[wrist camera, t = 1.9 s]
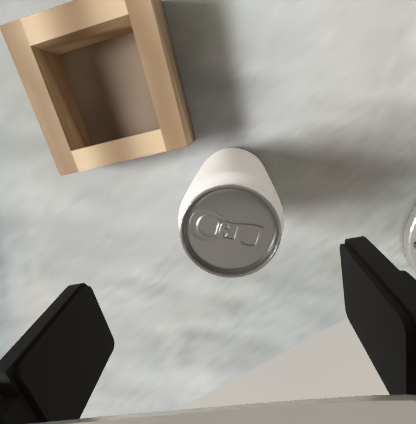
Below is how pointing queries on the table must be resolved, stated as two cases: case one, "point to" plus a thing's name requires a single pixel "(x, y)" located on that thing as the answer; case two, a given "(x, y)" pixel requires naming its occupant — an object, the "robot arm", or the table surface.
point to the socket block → (101, 81)
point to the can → (231, 215)
